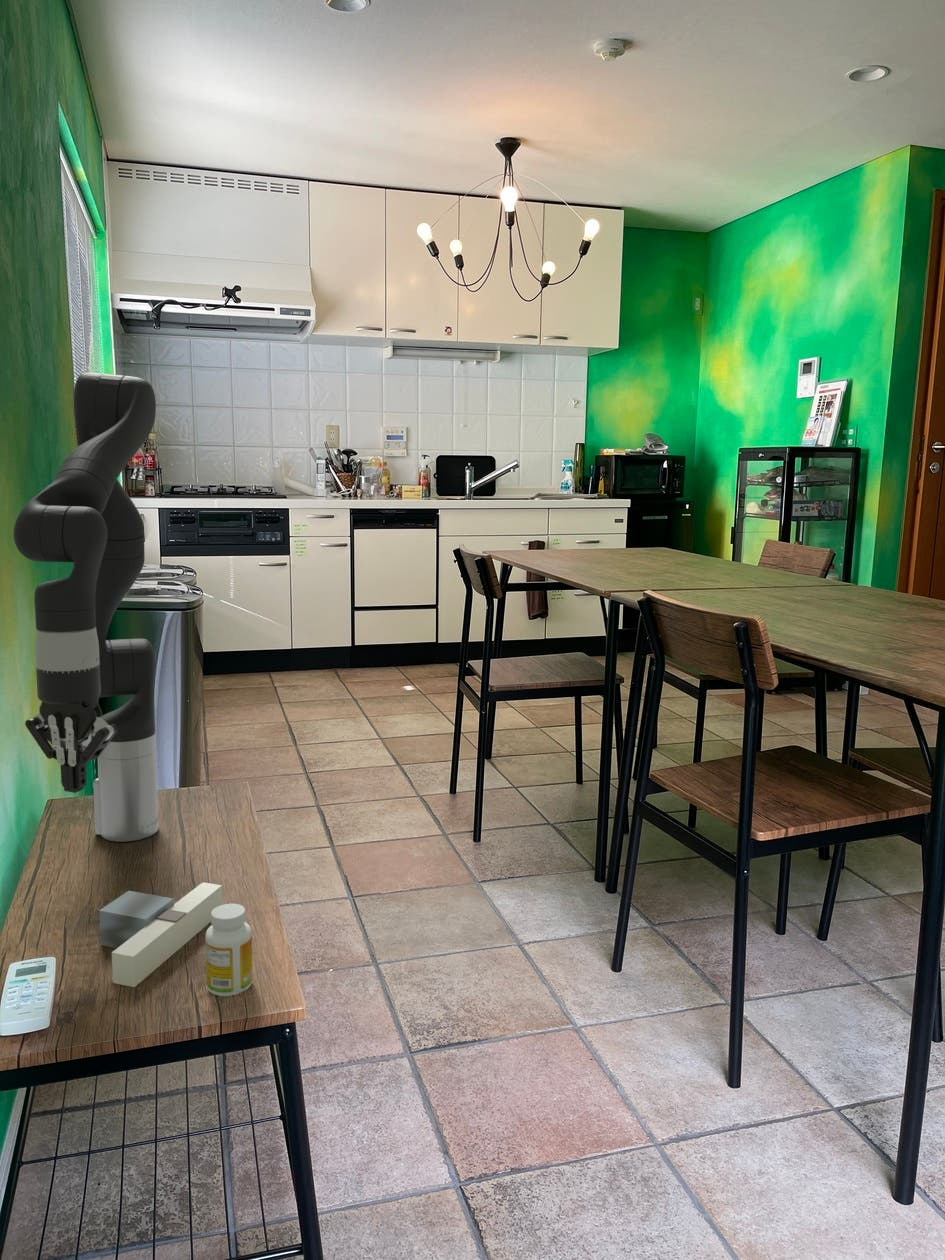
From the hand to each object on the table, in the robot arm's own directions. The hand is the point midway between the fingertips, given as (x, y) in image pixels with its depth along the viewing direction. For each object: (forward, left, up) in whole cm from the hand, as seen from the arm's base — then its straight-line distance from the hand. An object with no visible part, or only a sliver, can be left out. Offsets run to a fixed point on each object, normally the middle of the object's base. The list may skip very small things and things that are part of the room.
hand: (74, 790), depth 121 cm
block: (+9, 0, -20) cm, 22 cm away
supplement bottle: (+26, -6, -20) cm, 33 cm away
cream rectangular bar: (+14, 0, -19) cm, 24 cm away
